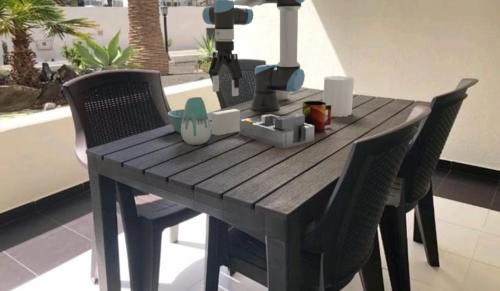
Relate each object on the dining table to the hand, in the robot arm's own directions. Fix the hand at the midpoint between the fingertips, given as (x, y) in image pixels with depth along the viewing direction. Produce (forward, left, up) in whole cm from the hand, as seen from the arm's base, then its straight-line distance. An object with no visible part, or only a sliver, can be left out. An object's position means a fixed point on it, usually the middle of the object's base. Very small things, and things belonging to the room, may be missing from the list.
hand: (225, 93), depth 169 cm
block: (0, 0, -17) cm, 17 cm away
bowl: (-12, -12, -17) cm, 24 cm away
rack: (+19, +11, -17) cm, 28 cm away
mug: (+21, +32, -17) cm, 42 cm away
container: (+7, +64, -17) cm, 67 cm away
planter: (-40, +66, -17) cm, 79 cm away
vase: (+5, -18, -17) cm, 25 cm away
